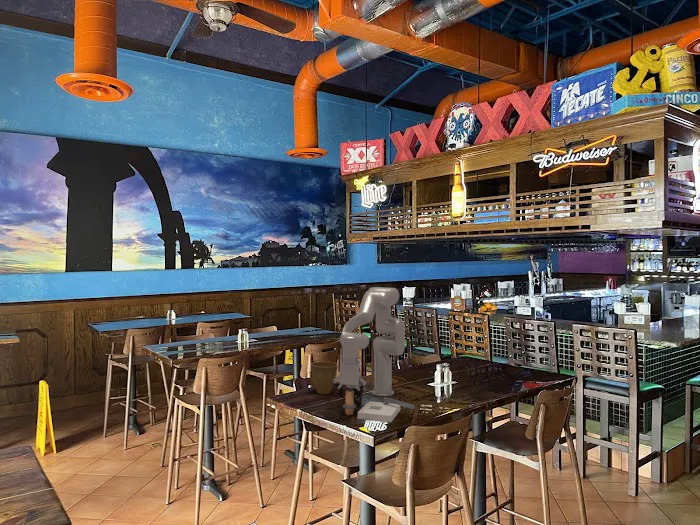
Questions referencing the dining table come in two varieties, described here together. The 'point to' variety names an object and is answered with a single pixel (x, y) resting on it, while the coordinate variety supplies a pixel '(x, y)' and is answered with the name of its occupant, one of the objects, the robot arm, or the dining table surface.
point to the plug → (349, 402)
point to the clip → (398, 403)
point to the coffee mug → (356, 401)
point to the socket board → (379, 411)
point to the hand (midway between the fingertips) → (349, 397)
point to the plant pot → (324, 376)
